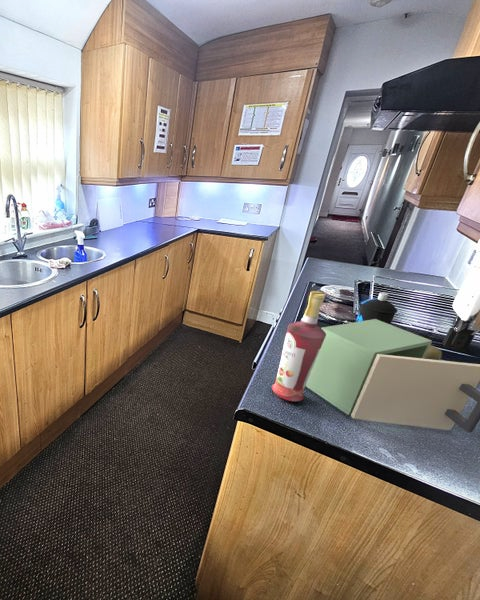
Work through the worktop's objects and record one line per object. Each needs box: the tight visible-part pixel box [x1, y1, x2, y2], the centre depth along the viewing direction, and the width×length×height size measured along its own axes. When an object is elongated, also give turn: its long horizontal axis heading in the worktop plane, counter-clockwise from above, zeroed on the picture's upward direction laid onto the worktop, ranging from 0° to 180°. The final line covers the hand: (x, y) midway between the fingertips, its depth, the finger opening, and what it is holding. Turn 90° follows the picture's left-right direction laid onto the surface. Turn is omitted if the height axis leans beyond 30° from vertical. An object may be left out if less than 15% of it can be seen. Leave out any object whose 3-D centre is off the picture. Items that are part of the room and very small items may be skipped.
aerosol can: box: [354, 291, 398, 325], centre depth 98 cm, size 8×8×20 cm
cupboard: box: [305, 319, 433, 416], centre depth 81 cm, size 12×19×17 cm, turn 107°
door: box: [350, 354, 480, 433], centre depth 68 cm, size 6×19×17 cm, turn 79°
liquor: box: [271, 290, 326, 403], centre depth 76 cm, size 7×7×28 cm
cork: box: [424, 344, 443, 360], centre depth 86 cm, size 6×6×11 cm
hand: (453, 347), depth 68 cm, fingers closed
